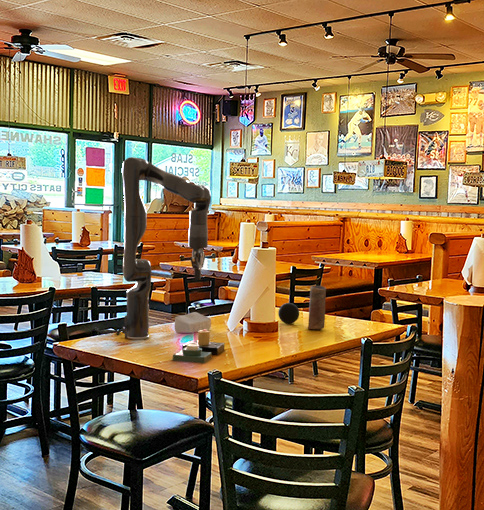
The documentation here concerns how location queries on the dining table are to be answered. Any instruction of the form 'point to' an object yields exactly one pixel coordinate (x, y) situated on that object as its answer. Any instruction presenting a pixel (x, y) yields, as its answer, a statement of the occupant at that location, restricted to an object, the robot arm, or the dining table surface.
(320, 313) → the candle
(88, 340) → the dining table surface
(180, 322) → the stone
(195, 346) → the button
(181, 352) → the button block
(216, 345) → the panel
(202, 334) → the knob
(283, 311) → the decorative ball
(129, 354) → the dining table surface
